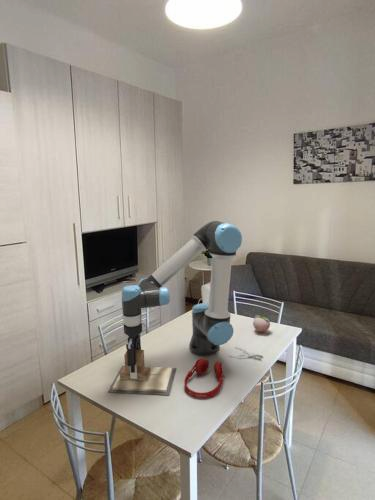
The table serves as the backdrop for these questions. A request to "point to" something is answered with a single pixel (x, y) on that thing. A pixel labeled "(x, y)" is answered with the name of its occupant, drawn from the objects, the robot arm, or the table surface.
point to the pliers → (253, 355)
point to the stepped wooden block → (142, 371)
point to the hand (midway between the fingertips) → (135, 374)
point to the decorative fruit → (261, 323)
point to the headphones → (201, 369)
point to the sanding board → (146, 383)
